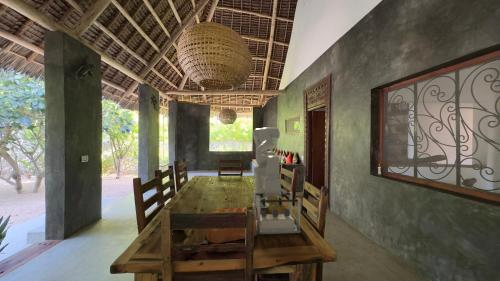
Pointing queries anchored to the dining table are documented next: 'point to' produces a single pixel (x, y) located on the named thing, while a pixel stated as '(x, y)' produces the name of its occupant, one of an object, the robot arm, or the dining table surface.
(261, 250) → the dining table surface
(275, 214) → the dark grey rectangular box
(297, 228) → the frame
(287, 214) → the grey matte cuboid
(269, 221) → the switch box
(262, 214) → the grey rectangular block
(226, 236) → the bread
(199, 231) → the lantern
